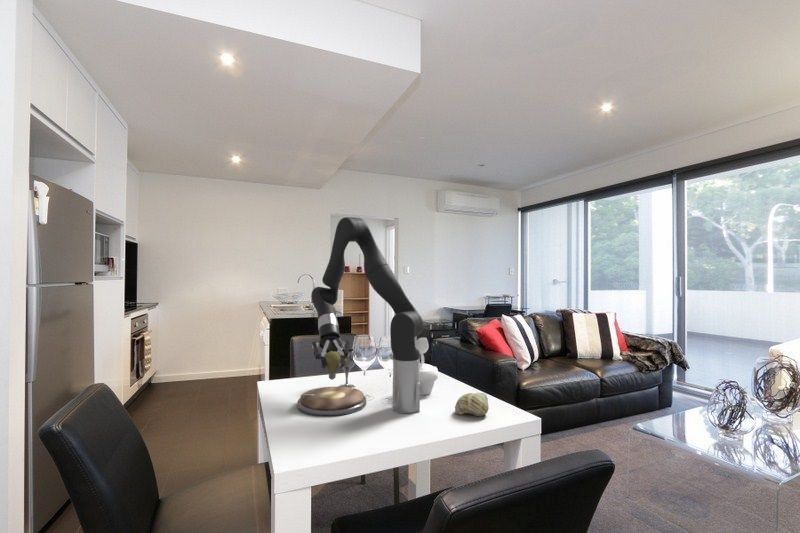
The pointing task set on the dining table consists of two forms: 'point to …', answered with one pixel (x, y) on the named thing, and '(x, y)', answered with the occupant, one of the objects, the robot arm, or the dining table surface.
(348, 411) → the turntable base
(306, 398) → the turntable platter
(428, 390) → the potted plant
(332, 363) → the light bulb
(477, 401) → the seashell
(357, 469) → the dining table surface
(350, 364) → the wine glass
